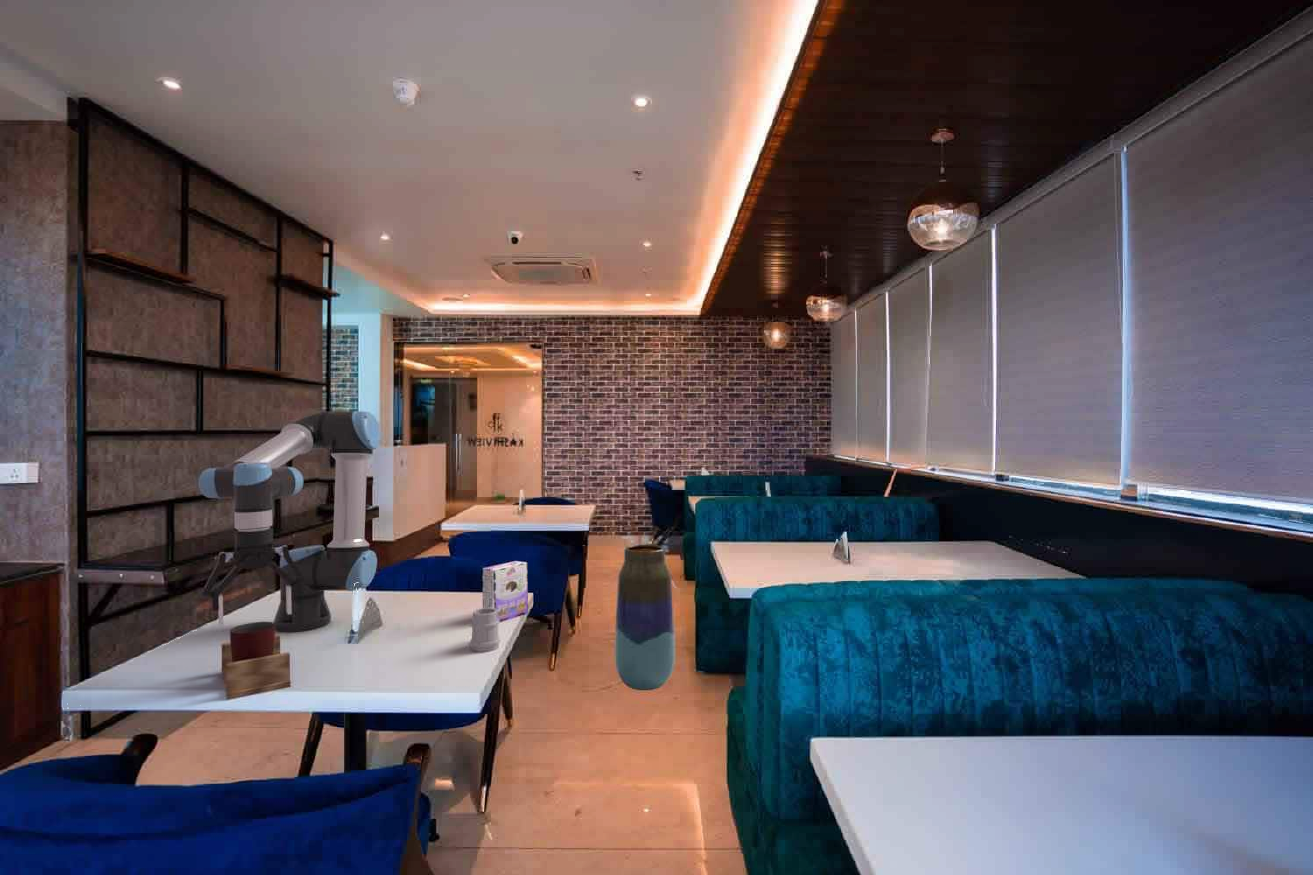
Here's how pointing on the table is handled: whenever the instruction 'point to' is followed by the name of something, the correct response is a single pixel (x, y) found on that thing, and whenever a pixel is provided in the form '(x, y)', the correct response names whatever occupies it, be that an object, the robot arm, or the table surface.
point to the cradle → (255, 672)
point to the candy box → (506, 589)
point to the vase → (644, 619)
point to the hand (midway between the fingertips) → (255, 618)
